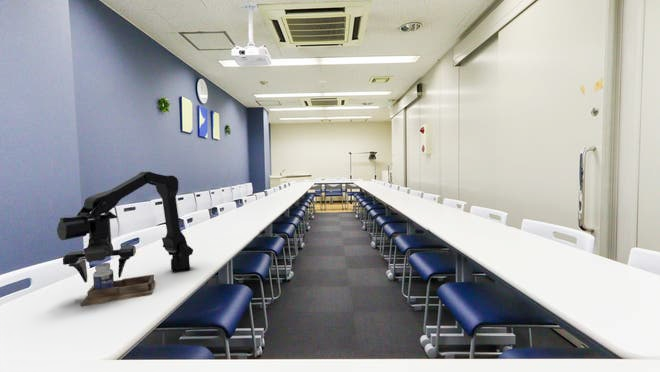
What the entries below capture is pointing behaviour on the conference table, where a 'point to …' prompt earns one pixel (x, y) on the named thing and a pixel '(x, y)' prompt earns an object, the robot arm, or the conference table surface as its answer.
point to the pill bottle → (103, 276)
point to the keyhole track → (121, 290)
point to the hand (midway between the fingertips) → (103, 279)
